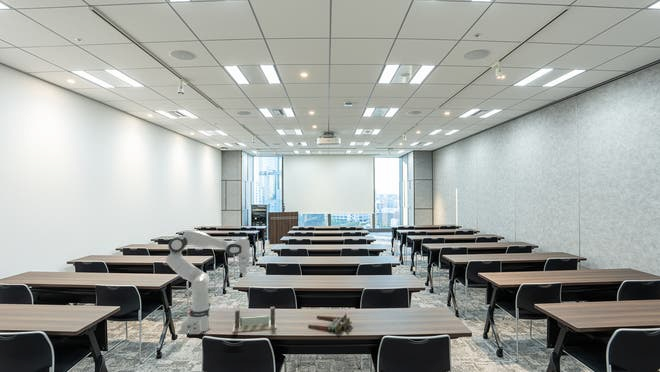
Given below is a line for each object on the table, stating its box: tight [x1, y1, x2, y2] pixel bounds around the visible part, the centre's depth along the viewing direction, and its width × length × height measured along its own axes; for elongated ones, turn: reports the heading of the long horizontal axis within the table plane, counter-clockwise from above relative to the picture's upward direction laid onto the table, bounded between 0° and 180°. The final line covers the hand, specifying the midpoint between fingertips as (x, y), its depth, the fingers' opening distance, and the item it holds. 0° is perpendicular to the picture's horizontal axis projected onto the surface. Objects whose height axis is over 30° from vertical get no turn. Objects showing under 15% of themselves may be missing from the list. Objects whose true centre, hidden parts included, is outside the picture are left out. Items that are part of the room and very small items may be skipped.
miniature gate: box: [307, 313, 353, 335], centre depth 237 cm, size 27×6×30 cm
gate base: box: [232, 306, 277, 334], centre depth 234 cm, size 31×14×13 cm, turn 103°
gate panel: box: [240, 315, 270, 326], centre depth 234 cm, size 21×2×6 cm, turn 103°
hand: (243, 275), depth 247 cm, fingers closed
